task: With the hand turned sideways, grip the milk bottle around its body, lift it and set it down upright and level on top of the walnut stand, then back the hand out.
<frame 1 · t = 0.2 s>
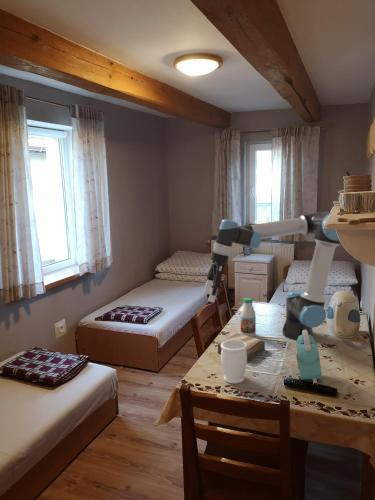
hand: (208, 297, 181), 27 cm above the table, tool tilted 15°, fingers open, 13 cm apart
alarm clock: (308, 378, 159), on the table
jar: (234, 379, 160), on the table
milk bottle: (248, 336, 204), on the table
walnut stand: (241, 351, 186), on the table
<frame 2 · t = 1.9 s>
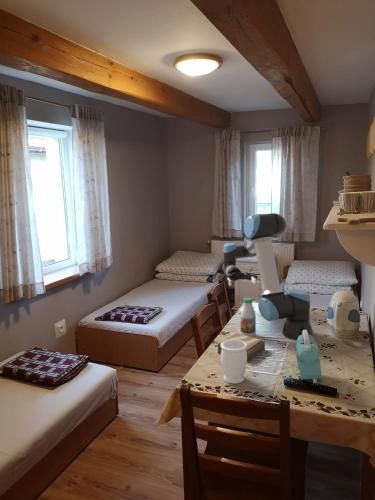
hand: (243, 282, 208), 26 cm above the table, tool horizontal, fingers open, 13 cm apart
nothing on the table moved.
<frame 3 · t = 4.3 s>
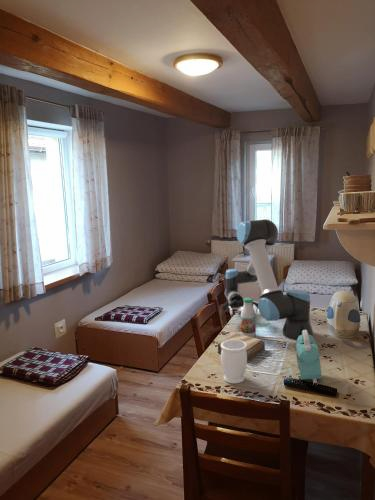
hand: (244, 311, 208), 11 cm above the table, tool horizontal, fingers open, 13 cm apart
nothing on the table moved.
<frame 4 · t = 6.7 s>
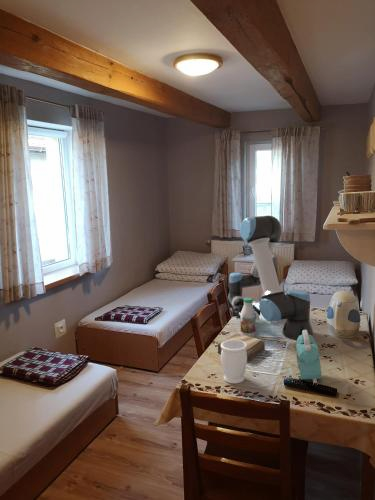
hand: (250, 318, 197), 11 cm above the table, tool horizontal, fingers closed on milk bottle, 7 cm apart
milk bottle: (248, 335, 204), on the table, touching gripper
everything else where it was.
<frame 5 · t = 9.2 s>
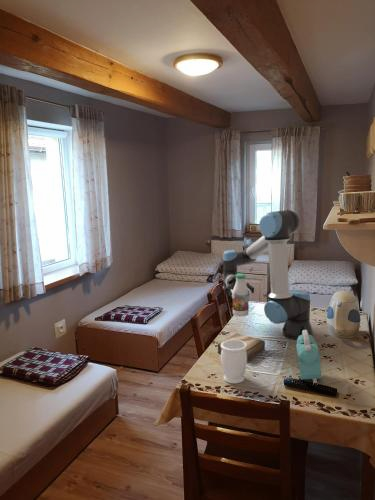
hand: (242, 295, 186), 26 cm above the table, tool horizontal, fingers closed on milk bottle, 7 cm apart
milk bottle: (240, 314, 192), point 15 cm above the table, touching gripper
everything else where it was.
when the fingers open (17 cm above the table, at t = 11.8 s): milk bottle drops 1 cm, resting on walnut stand.
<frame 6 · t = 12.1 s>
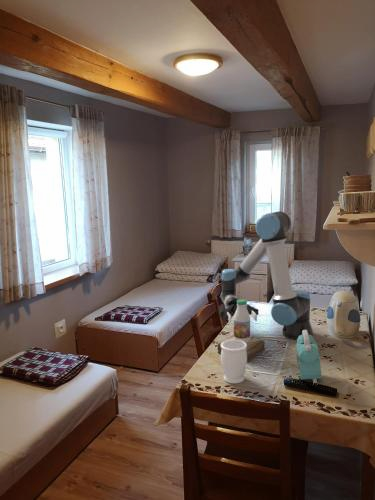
hand: (243, 318, 179), 17 cm above the table, tool horizontal, fingers open, 11 cm apart
milk bottle: (242, 341, 185), point 5 cm above the table, touching walnut stand
everything else where it was.
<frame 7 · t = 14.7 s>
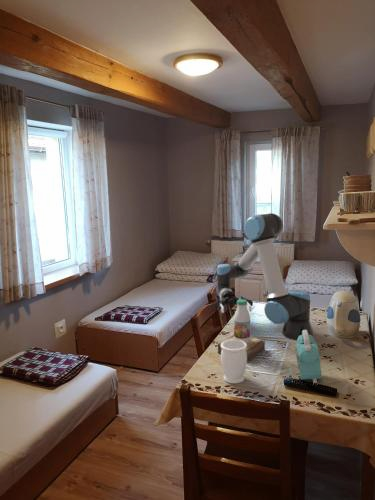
hand: (236, 309, 192), 18 cm above the table, tool horizontal, fingers open, 13 cm apart
nothing on the table moved.
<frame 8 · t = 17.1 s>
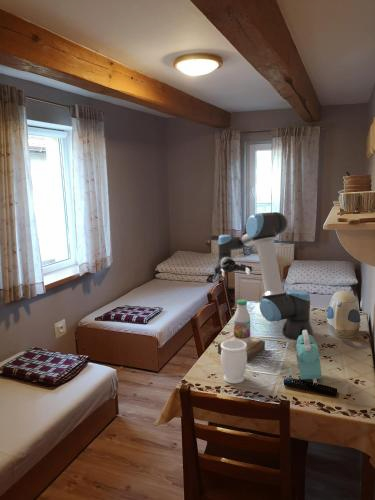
hand: (236, 273, 204), 32 cm above the table, tool horizontal, fingers open, 13 cm apart
nothing on the table moved.
at the end: milk bottle inside the target area on the walnut stand (0.3 cm from its centre), point 4.8 cm above the walnut stand's base; milk bottle tilted 0°; milk bottle touching walnut stand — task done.
